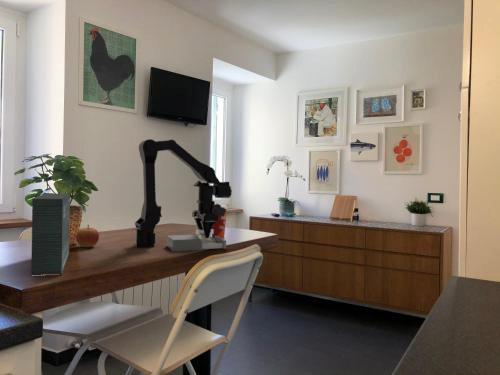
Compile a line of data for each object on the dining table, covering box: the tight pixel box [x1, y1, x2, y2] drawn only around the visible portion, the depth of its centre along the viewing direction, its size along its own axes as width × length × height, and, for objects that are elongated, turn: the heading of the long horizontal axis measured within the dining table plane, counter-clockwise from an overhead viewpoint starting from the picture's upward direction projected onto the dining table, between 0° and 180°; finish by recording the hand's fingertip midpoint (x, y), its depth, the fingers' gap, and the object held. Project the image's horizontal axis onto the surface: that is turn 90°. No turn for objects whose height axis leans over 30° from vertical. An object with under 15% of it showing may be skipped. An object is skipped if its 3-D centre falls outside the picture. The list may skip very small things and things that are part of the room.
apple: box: [74, 224, 100, 248], centre depth 146 cm, size 8×8×8 cm
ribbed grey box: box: [30, 192, 71, 276], centre depth 117 cm, size 29×7×20 cm, turn 21°
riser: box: [198, 235, 212, 240], centre depth 163 cm, size 4×4×4 cm
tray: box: [202, 236, 227, 250], centre depth 153 cm, size 11×11×3 cm
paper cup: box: [211, 204, 228, 239], centre depth 179 cm, size 8×8×14 cm
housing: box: [166, 234, 203, 252], centre depth 149 cm, size 10×11×4 cm
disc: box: [195, 228, 214, 236], centre depth 163 cm, size 7×7×2 cm
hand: (204, 236), depth 163 cm, fingers closed on disc, 7 cm apart
